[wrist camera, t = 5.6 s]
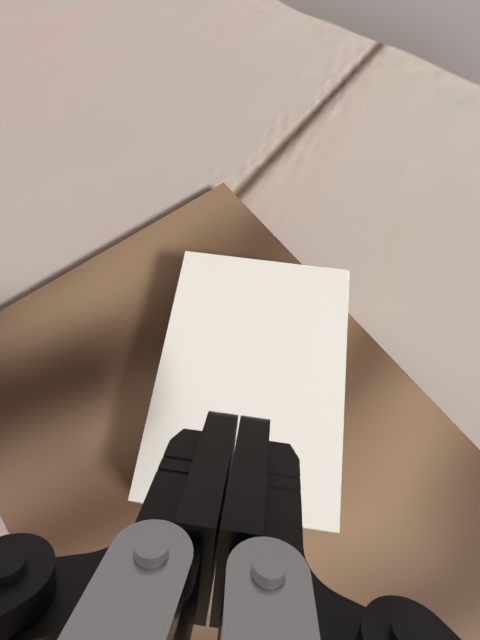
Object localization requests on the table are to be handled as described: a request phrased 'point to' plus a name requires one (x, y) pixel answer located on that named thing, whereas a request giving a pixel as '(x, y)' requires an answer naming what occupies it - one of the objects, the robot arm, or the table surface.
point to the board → (134, 401)
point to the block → (257, 367)
